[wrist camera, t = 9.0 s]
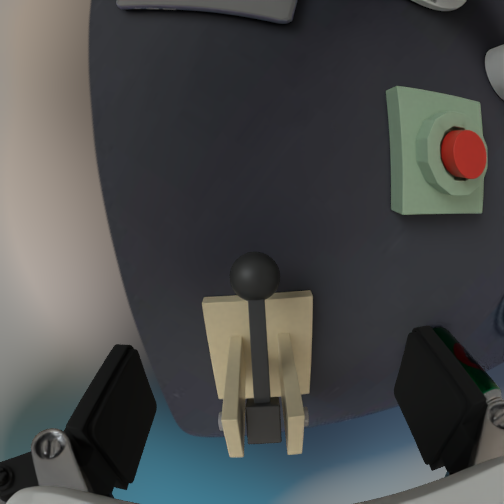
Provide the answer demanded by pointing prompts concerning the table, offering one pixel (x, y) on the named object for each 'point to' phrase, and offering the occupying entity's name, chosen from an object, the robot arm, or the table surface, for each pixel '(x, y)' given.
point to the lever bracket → (279, 357)
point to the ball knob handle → (258, 342)
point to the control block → (430, 152)
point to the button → (463, 154)
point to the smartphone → (223, 7)
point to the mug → (496, 69)
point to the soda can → (470, 366)
